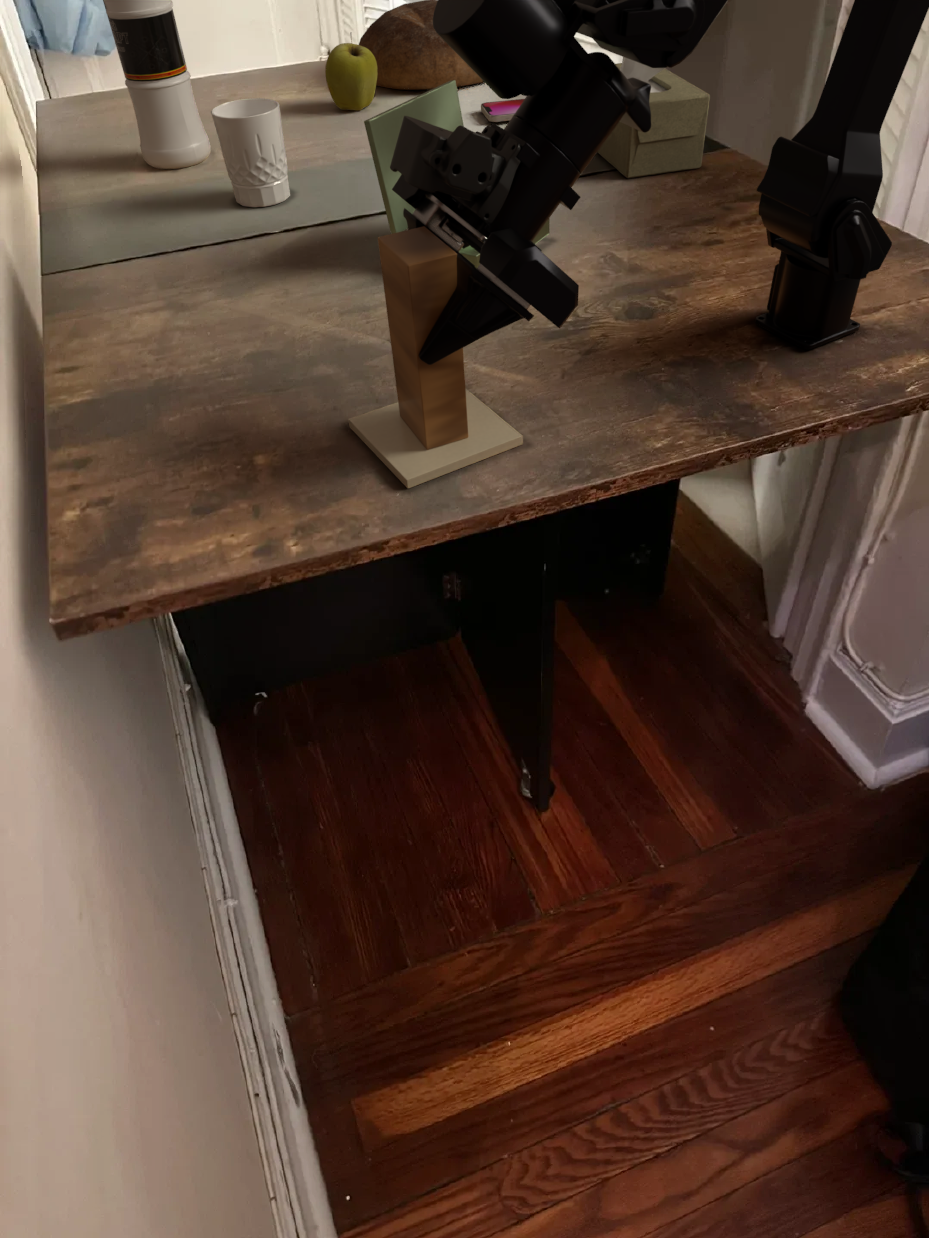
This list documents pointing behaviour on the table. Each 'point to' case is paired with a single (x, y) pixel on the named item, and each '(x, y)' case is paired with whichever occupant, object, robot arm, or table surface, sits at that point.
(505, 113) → the smartphone
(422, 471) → the tile
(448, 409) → the wooden block
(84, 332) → the table surface
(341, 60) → the apple
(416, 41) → the bread
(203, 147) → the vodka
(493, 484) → the table surface
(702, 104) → the tissue box
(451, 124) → the flat green panel
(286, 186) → the white cup
